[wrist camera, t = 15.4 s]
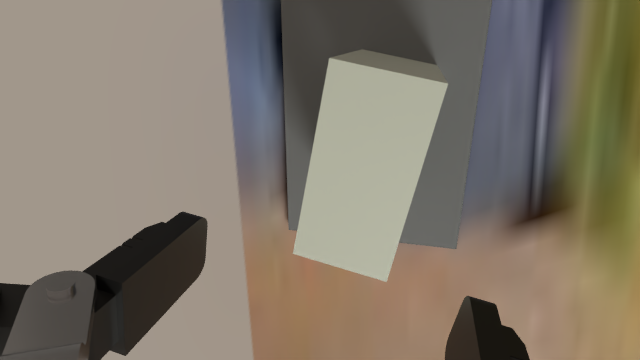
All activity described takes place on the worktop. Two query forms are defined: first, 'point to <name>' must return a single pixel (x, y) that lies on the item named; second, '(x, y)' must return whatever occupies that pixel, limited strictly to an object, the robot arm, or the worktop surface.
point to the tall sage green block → (367, 159)
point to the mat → (402, 41)
